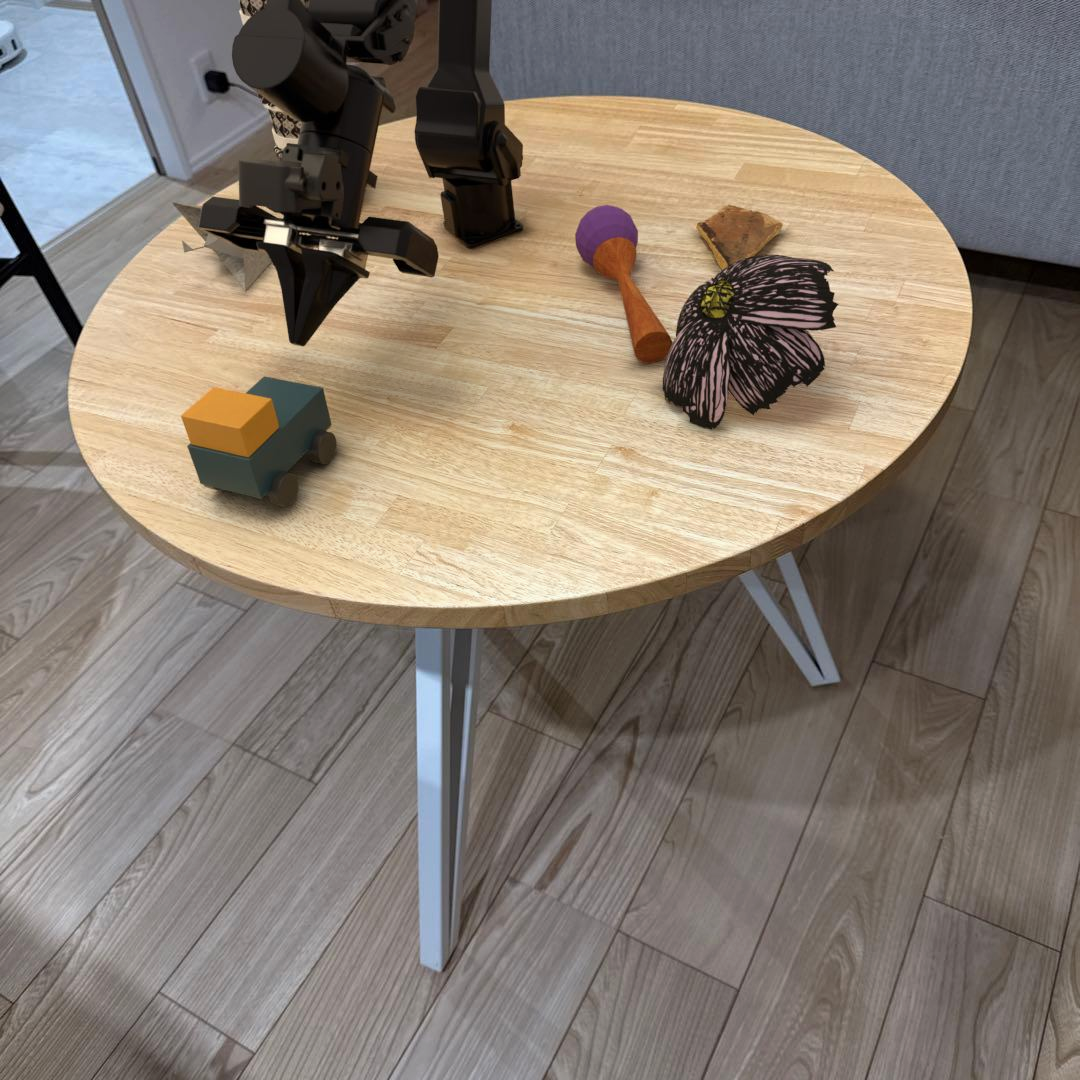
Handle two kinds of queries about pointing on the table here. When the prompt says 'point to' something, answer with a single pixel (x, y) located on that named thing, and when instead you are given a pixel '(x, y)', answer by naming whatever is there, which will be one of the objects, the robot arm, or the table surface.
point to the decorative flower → (749, 336)
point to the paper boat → (227, 250)
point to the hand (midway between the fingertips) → (296, 344)
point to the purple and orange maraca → (622, 275)
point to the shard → (737, 233)
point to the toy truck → (258, 437)
